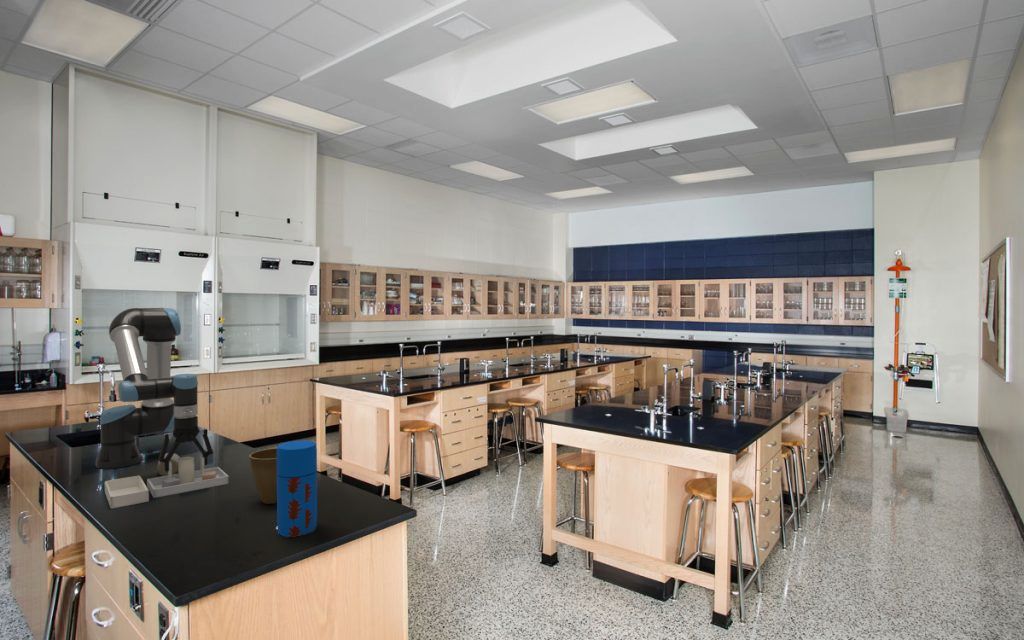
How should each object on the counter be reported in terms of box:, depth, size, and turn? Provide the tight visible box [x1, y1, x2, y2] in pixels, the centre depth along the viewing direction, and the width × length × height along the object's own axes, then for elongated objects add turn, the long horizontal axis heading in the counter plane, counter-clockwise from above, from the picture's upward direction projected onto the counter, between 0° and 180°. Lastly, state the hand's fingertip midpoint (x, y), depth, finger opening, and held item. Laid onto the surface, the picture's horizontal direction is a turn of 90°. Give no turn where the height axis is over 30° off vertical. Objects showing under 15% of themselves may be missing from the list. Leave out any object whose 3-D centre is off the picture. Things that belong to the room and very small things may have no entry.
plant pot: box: [249, 447, 277, 505], centre depth 184 cm, size 15×15×16 cm
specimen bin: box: [104, 474, 150, 510], centre depth 186 cm, size 21×10×4 cm, turn 41°
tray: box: [146, 466, 230, 499], centre depth 198 cm, size 15×23×3 cm, turn 131°
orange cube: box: [202, 471, 216, 481], centre depth 199 cm, size 4×4×4 cm
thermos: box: [276, 440, 318, 537], centre depth 160 cm, size 11×11×25 cm
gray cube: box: [162, 478, 180, 488], centre depth 191 cm, size 4×4×4 cm
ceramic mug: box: [156, 452, 181, 477], centre depth 212 cm, size 11×8×8 cm
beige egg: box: [177, 456, 195, 485], centre depth 201 cm, size 5×5×9 cm
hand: (186, 477), depth 201 cm, fingers open, 10 cm apart
